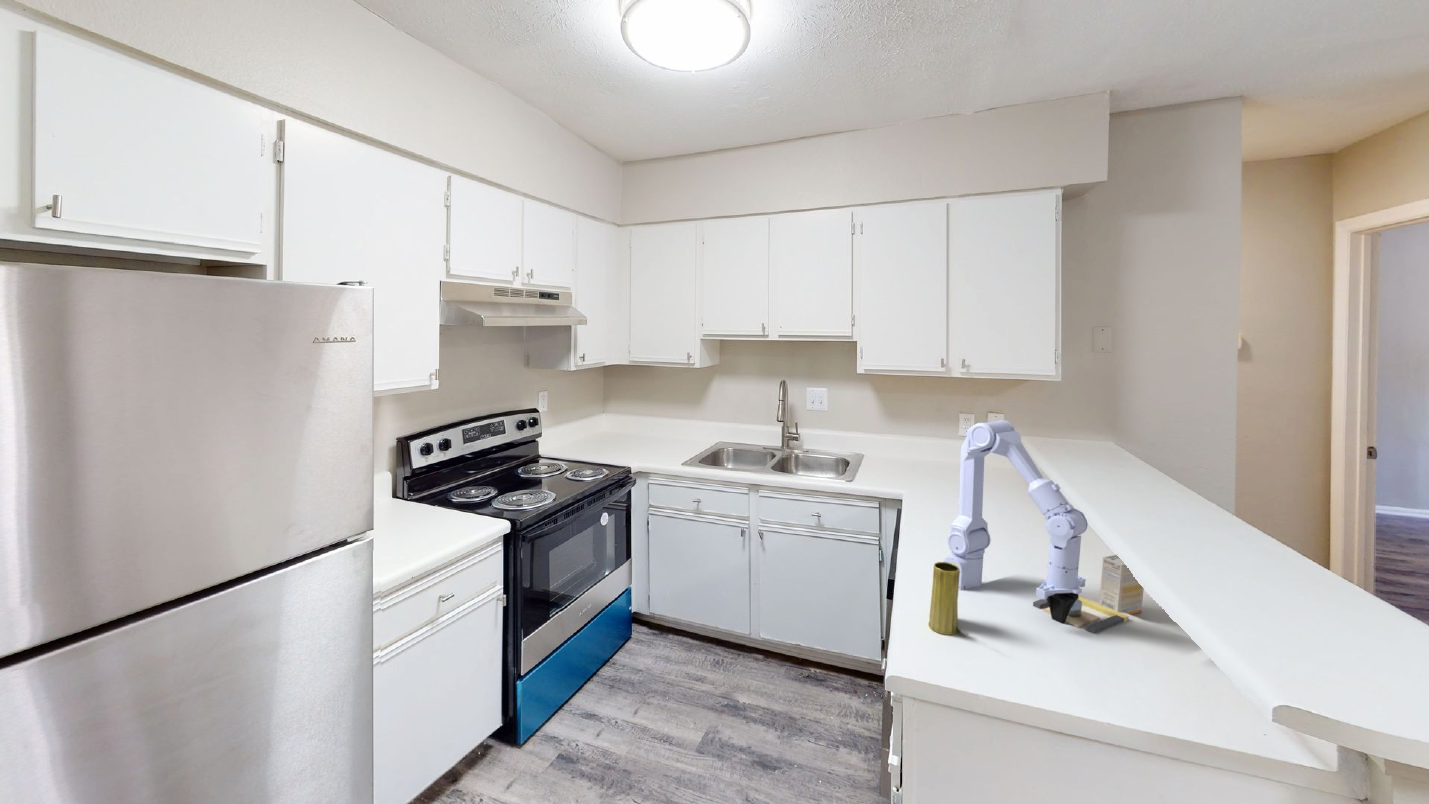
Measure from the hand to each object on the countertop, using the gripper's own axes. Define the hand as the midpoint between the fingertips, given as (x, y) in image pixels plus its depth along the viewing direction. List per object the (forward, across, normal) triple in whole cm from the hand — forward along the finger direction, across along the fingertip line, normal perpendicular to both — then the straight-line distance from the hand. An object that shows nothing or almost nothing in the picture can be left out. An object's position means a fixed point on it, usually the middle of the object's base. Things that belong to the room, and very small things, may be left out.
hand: (1058, 622), depth 126 cm
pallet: (+1, +5, 0) cm, 5 cm away
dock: (+1, +8, 0) cm, 8 cm away
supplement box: (+1, +20, -2) cm, 21 cm away
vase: (+1, -24, +11) cm, 26 cm away
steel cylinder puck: (-1, +5, 0) cm, 5 cm away
